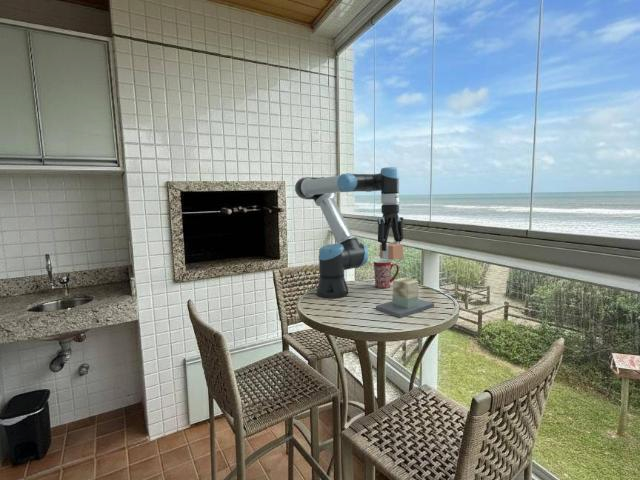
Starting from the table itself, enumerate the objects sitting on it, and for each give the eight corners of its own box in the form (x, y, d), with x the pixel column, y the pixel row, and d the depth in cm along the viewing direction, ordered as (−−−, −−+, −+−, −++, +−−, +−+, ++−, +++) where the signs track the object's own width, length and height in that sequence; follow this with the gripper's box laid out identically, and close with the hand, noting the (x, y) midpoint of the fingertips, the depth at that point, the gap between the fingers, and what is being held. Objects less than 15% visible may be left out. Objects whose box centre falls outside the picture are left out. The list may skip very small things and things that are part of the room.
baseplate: (375, 309, 135) (375, 296, 134) (409, 299, 146) (408, 287, 146) (400, 318, 124) (400, 303, 124) (434, 306, 136) (434, 293, 135)
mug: (374, 289, 164) (373, 262, 163) (372, 284, 173) (372, 259, 172) (400, 289, 163) (400, 262, 162) (397, 284, 172) (397, 258, 171)
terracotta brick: (380, 258, 147) (379, 244, 146) (389, 256, 150) (389, 243, 150) (393, 260, 140) (392, 246, 140) (403, 258, 143) (402, 244, 143)
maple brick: (393, 294, 136) (392, 280, 135) (403, 291, 139) (403, 277, 139) (408, 298, 129) (408, 283, 129) (418, 295, 133) (418, 281, 132)
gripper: (380, 204, 134) (381, 261, 137) (411, 203, 145) (412, 255, 148) (367, 205, 140) (369, 258, 143) (398, 203, 151) (399, 253, 154)
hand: (391, 257), depth 145 cm, fingers closed on terracotta brick, 6 cm apart
